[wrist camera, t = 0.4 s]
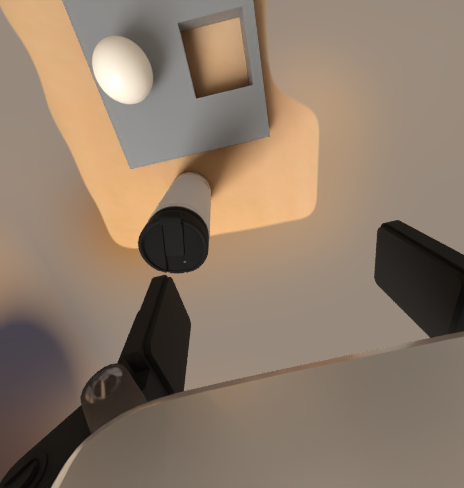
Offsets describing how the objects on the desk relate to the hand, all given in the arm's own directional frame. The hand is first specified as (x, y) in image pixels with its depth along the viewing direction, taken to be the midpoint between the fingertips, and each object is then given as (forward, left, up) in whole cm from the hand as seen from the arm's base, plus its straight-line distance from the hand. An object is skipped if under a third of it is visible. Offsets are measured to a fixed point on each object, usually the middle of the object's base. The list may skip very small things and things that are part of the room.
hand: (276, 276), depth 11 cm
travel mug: (+2, -7, -30) cm, 31 cm away
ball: (-13, -10, -24) cm, 29 cm away
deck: (-13, -4, -30) cm, 33 cm away
